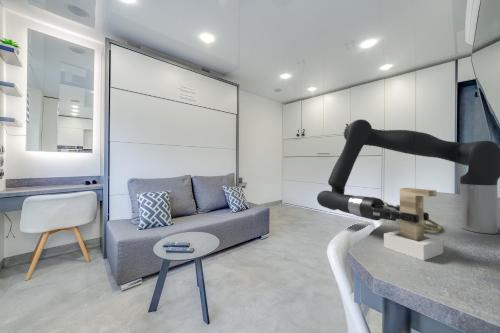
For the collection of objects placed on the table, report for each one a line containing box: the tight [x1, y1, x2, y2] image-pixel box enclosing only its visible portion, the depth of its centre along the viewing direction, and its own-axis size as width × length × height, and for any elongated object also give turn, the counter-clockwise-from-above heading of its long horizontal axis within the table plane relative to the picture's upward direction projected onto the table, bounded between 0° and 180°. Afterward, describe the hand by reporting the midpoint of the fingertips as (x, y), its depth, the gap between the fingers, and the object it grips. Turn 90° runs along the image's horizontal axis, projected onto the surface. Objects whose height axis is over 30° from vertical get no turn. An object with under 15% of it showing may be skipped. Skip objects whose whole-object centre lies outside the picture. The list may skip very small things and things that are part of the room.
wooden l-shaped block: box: [399, 187, 438, 242], centre depth 57 cm, size 4×7×18 cm, turn 24°
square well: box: [383, 229, 444, 261], centre depth 58 cm, size 10×10×4 cm
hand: (423, 218), depth 56 cm, fingers open, 4 cm apart
